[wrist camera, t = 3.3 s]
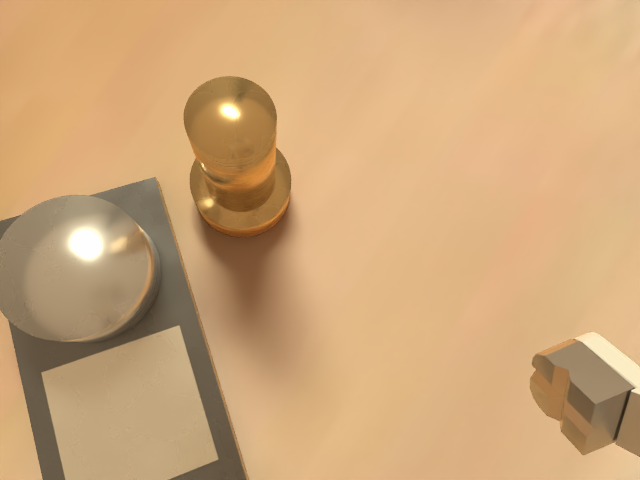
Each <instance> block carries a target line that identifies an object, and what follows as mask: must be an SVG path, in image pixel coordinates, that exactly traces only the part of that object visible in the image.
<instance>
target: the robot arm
mask: <svg viewBox="0 0 640 480" xmlns="http://www.w3.org/2000/svg"><path fill="white" fill-rule="evenodd" d="M532 366H533V367H534V368H535V369H536V371H535V372H534V374H533V375H532V376H531V378H530V389H531V392H532V395H533V398H534V400H535V401H536V403H537V404H538V406H539V407H540V408H541V410H542V411H543V412H544V413H545V414H546V415H547V416H549V417H551V418H554V419H556V420H558V421H560V428H561V432H562V433H563V434H564V435H565V436H566V437H567V438H568V440H569V441H570V442H571V443H572V444H573V445H574V446H575V447H576V448H577V449H578V451H579V452H580V453H581V454H582V455H585V454H588V453H590V452H592V451H595V450H597V449H600V448H602V447H604V446H607V445H609V444H611V443H614V442H616V443H615V444H616V445H618V446H620V447H622V448H624V449H626V450H628V451H629V452H631V453H633V454H635V455H637V456H639V457H640V367H639V366H638V365H637V364H636V363H634V362H633V361H632V360H631V359H629V358H628V357H627V356H626V355H624V354H623V353H622V352H621V351H619V350H618V349H617V348H615V347H614V346H613V345H612V344H610V343H609V342H608V341H607V340H605V339H604V338H603V337H602V336H600V335H599V334H597V333H594V332H589V333H585V334H583V335H581V336H578V337H576V338H574V339H570V340H567V341H565V342H563V343H560V344H558V345H556V346H553V347H551V348H549V349H546V350H544V351H542V352H539V353H537V354H536V355H535V356H534V357H533V361H532Z"/></svg>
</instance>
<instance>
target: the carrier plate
mask: <svg viewBox="0 0 640 480" xmlns="http://www.w3.org/2000/svg"><path fill="white" fill-rule="evenodd" d="M0 310H1V311H2V313H3V314H4V316H5V317H6V318H7V319H8V320H9V325H10V330H11V334H12V339H13V343H14V348H15V353H16V357H17V362H18V367H19V371H20V376H21V380H22V385H23V390H24V394H25V399H26V403H27V408H28V413H29V417H30V422H31V427H32V431H33V436H34V440H35V445H36V450H37V454H38V459H39V464H40V468H41V473H42V477H43V480H249V478H248V475H247V471H246V468H245V465H244V462H243V458H242V455H241V452H240V448H239V445H238V442H237V438H236V435H235V432H234V429H233V425H232V422H231V419H230V415H229V412H228V409H227V405H226V402H225V399H224V395H223V392H222V389H221V386H220V382H219V379H218V376H217V372H216V369H215V366H214V362H213V359H212V356H211V353H210V349H209V346H208V343H207V339H206V336H205V333H204V329H203V326H202V323H201V320H200V316H199V313H198V310H197V306H196V303H195V300H194V296H193V293H192V290H191V287H190V283H189V280H188V277H187V273H186V270H185V267H184V263H183V260H182V257H181V254H180V250H179V247H178V244H177V240H176V237H175V234H174V230H173V227H172V224H171V220H170V217H169V214H168V211H167V207H166V204H165V201H164V197H163V194H162V191H161V187H160V184H159V182H158V181H157V179H156V177H154V178H150V179H146V180H143V181H139V182H136V183H132V184H129V185H125V186H122V187H118V188H115V189H111V190H108V191H104V192H101V193H97V194H94V195H90V196H85V195H69V196H62V197H57V198H53V199H50V200H47V201H44V202H42V203H40V204H38V205H36V206H34V207H32V208H31V209H29V210H28V211H26V212H25V213H24V214H22V215H20V216H16V217H13V218H9V219H6V220H2V221H0Z"/></svg>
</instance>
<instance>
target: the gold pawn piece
mask: <svg viewBox="0 0 640 480" xmlns="http://www.w3.org/2000/svg"><path fill="white" fill-rule="evenodd" d="M276 124H277V115H276V109H275V106H274V103H273V101H272V99H271V98H270V96H269V95H268V94H267V92H266V91H265V90H264V89H263V88H261V87H260V86H259V85H257V84H256V83H254V82H252V81H250V80H247V79H244V78H240V77H231V76H228V77H220V78H215V79H212V80H210V81H208V82H206V83H204V84H202V85H201V86H200V87H198V88H197V89H196V90H195V91H194V92H193V93H192V95H191V96H190V97H189V99H188V101H187V103H186V106H185V110H184V125H185V129H186V132H187V135H188V137H189V140H190V143H191V146H192V148H193V151H194V154H195V156H196V159H195V161H194V163H193V166H192V169H191V173H190V189H191V193H192V196H193V199H194V201H195V203H196V205H197V207H198V209H199V211H200V213H201V215H202V216H203V218H204V219H205V220H206V222H207V223H208V224H209V225H210V226H212V227H213V228H214V229H216V230H218V231H219V232H221V233H224V234H226V235H230V236H235V237H250V236H255V235H258V234H261V233H264V232H265V231H267V230H269V229H270V228H272V227H273V226H274V225H275V224H276V223H278V222H279V220H280V219H281V218H282V216H283V215H284V213H285V211H286V209H287V206H288V203H289V197H290V189H291V174H290V169H289V166H288V164H287V161H286V159H285V158H284V156H283V155H282V153H281V152H280V151H279V150H278V149H277V148H276Z"/></svg>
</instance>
